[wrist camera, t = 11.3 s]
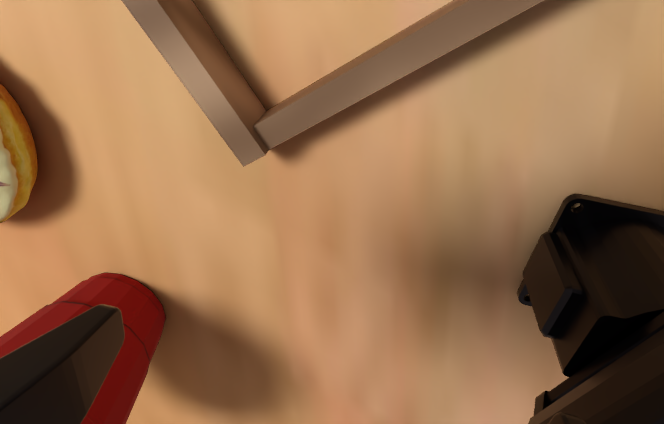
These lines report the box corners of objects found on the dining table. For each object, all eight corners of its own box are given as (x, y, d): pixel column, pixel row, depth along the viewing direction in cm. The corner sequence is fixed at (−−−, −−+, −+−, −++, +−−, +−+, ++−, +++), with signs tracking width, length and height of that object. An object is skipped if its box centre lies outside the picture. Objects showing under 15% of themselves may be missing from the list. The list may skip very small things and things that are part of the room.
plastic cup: (110, 206, 25) (-100, 391, 15) (234, 332, 29) (135, 546, 18) (12, 275, 29) (-200, 452, 19) (131, 375, 33) (5, 567, 23)
